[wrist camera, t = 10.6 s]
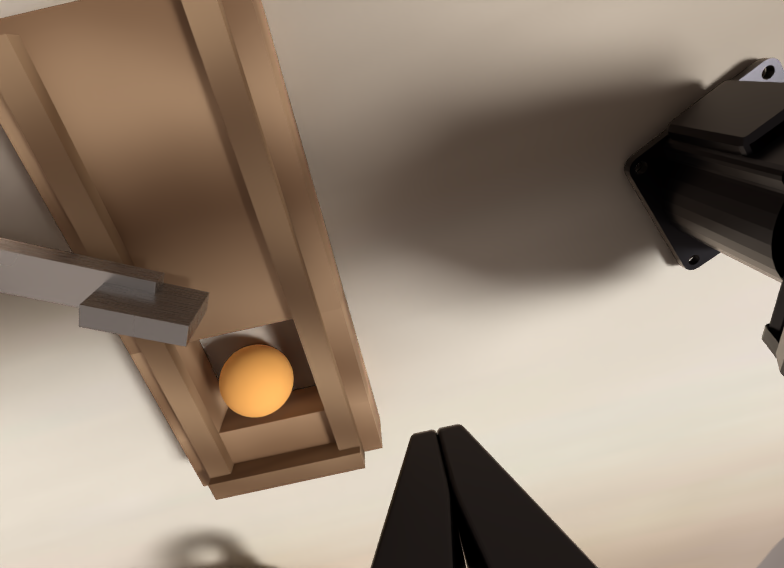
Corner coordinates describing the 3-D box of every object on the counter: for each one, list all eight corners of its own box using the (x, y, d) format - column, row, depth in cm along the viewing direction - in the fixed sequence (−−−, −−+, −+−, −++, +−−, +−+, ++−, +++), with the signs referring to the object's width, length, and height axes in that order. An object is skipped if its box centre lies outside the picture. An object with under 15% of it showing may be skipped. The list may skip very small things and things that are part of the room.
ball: (314, 376, 22) (299, 390, 19) (264, 421, 22) (241, 442, 19) (270, 327, 22) (248, 332, 19) (220, 371, 22) (190, 384, 19)
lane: (-5, 34, 15) (-80, 28, 13) (253, -26, 15) (233, -45, 13) (214, 455, 24) (197, 503, 22) (379, 419, 24) (383, 463, 21)
